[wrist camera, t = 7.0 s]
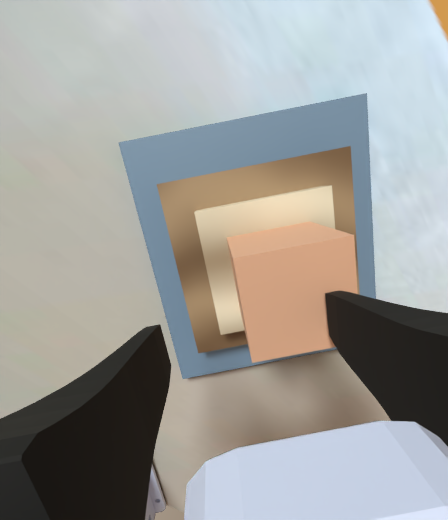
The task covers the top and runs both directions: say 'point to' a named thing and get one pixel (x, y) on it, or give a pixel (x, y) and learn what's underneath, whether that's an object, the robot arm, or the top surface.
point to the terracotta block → (290, 285)
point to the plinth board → (237, 154)
